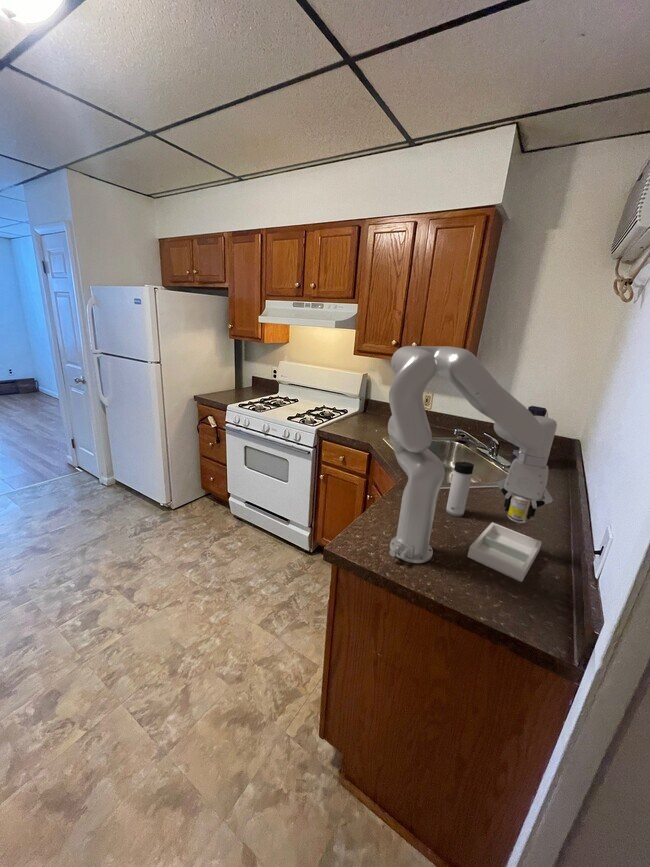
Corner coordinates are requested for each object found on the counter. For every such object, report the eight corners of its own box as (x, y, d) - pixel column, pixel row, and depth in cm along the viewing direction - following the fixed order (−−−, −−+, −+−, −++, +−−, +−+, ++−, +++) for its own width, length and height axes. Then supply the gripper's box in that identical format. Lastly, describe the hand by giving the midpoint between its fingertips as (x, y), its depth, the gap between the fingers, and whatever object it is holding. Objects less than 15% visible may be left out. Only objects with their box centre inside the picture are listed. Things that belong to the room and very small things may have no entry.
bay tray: (521, 582, 98) (524, 571, 97) (467, 556, 107) (469, 546, 106) (539, 551, 112) (541, 541, 111) (489, 531, 122) (492, 522, 120)
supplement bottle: (519, 514, 113) (527, 484, 110) (531, 523, 108) (539, 493, 104) (503, 514, 112) (510, 484, 109) (513, 523, 107) (521, 493, 104)
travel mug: (453, 518, 128) (463, 466, 122) (442, 508, 134) (452, 459, 128) (467, 516, 130) (478, 465, 124) (456, 507, 136) (466, 458, 130)
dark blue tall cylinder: (534, 470, 177) (550, 412, 168) (508, 463, 184) (522, 407, 175) (538, 463, 188) (553, 407, 179) (513, 456, 194) (526, 402, 185)
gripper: (497, 453, 106) (485, 507, 112) (564, 471, 96) (547, 530, 101) (504, 447, 112) (493, 499, 117) (569, 464, 101) (552, 520, 107)
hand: (518, 513), depth 109 cm, fingers closed on supplement bottle, 5 cm apart
